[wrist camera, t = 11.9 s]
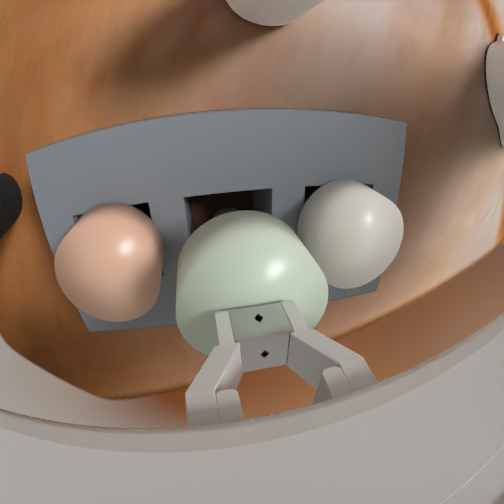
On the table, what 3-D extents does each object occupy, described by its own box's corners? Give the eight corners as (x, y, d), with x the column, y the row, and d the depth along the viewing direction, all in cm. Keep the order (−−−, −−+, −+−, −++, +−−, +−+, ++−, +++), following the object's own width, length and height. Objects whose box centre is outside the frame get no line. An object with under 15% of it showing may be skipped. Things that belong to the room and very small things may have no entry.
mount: (360, 113, 19) (407, 122, 14) (345, 254, 27) (376, 290, 22) (65, 138, 16) (25, 154, 11) (104, 286, 23) (89, 331, 18)
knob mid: (273, 173, 16) (338, 236, 9) (272, 255, 19) (317, 347, 12) (175, 182, 15) (159, 257, 8) (188, 266, 18) (191, 369, 11)
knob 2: (343, 159, 20) (412, 194, 13) (337, 224, 24) (391, 279, 16) (273, 160, 19) (321, 197, 12) (272, 231, 23) (310, 296, 15)
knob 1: (165, 170, 18) (145, 216, 11) (176, 243, 21) (171, 317, 14) (90, 184, 17) (39, 235, 10) (108, 252, 20) (79, 324, 13)
